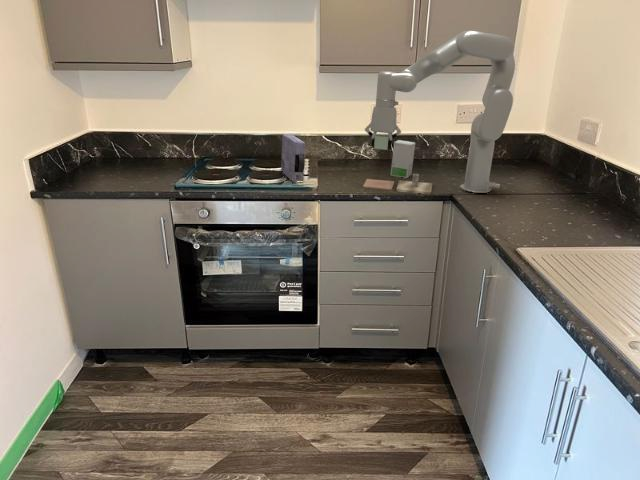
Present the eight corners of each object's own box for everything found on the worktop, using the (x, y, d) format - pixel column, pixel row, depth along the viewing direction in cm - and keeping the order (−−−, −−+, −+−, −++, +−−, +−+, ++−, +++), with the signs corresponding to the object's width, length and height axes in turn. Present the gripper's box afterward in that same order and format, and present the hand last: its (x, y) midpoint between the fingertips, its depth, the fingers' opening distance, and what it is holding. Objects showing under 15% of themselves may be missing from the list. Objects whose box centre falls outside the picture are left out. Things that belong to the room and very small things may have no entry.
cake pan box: (305, 183, 211) (306, 141, 204) (294, 184, 209) (294, 142, 202) (291, 172, 227) (291, 133, 221) (280, 172, 226) (280, 133, 219)
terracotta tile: (394, 182, 216) (394, 181, 216) (391, 190, 205) (391, 188, 205) (366, 180, 218) (367, 178, 218) (362, 187, 207) (362, 186, 207)
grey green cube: (388, 147, 207) (389, 135, 206) (387, 149, 203) (388, 137, 201) (375, 146, 208) (376, 134, 207) (374, 148, 204) (375, 136, 202)
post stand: (431, 185, 213) (433, 171, 211) (430, 194, 201) (432, 180, 199) (399, 182, 216) (400, 169, 214) (396, 191, 204) (397, 177, 201)
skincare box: (390, 176, 226) (393, 141, 220) (395, 173, 232) (398, 139, 226) (407, 178, 223) (411, 144, 217) (412, 175, 228) (415, 141, 222)
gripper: (407, 104, 200) (402, 148, 207) (365, 101, 204) (362, 145, 211) (406, 106, 194) (401, 152, 201) (362, 103, 197) (359, 148, 204)
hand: (381, 148), depth 206 cm, fingers closed on grey green cube, 5 cm apart
